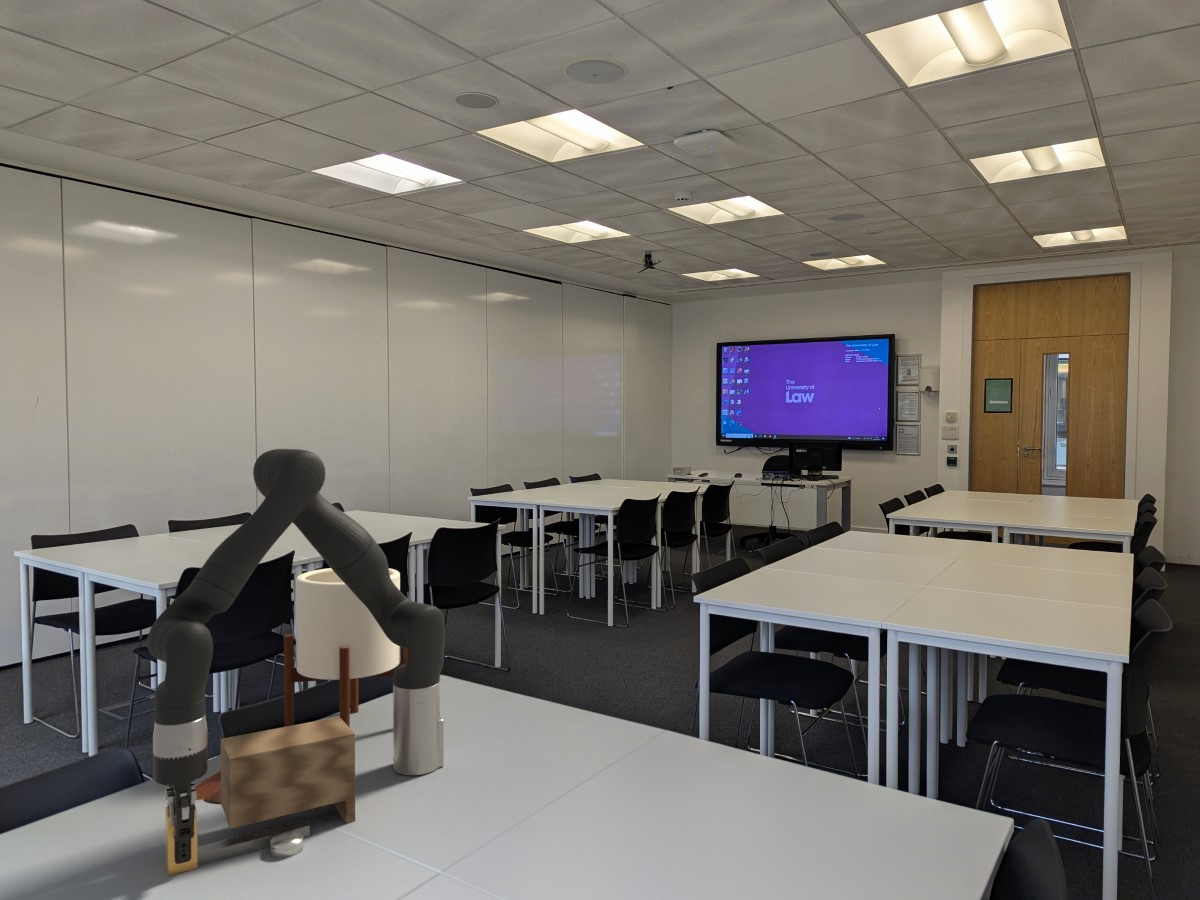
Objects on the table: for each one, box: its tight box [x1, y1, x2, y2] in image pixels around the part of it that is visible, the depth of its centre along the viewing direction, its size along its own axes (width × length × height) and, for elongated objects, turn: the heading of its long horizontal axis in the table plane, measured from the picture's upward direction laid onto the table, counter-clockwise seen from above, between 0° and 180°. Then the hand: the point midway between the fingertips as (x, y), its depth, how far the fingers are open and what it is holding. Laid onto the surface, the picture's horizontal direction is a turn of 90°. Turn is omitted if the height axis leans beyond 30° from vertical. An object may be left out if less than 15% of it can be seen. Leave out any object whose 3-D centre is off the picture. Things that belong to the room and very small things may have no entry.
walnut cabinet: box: [220, 716, 356, 830], centre depth 138 cm, size 20×10×15 cm, turn 123°
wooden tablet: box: [194, 770, 221, 805], centre depth 160 cm, size 27×10×2 cm, turn 169°
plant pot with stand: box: [283, 567, 408, 729], centre depth 181 cm, size 22×22×36 cm
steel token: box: [270, 831, 305, 859], centre depth 130 cm, size 5×5×2 cm
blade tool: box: [164, 805, 311, 876], centre depth 130 cm, size 21×4×9 cm, turn 123°
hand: (181, 854), depth 125 cm, fingers closed on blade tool, 4 cm apart
